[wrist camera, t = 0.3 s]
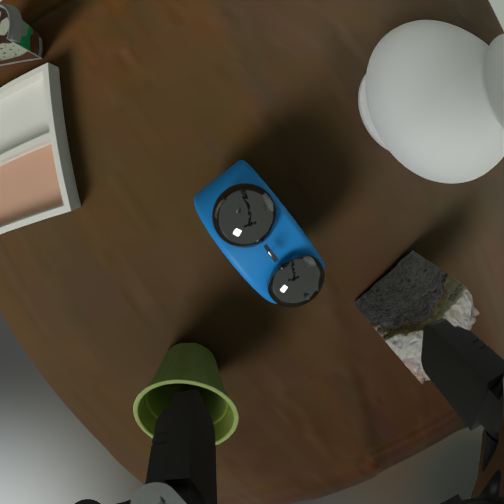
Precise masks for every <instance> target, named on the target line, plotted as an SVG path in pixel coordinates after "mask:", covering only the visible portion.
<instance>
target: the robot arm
mask: <svg viewBox="0 0 504 504" xmlns="http://www.w3.org/2000/svg"><path fill="white" fill-rule="evenodd" d="M421 363H422V367H423V370H424V372H425V373H426V375H427V376H428V377H429V378H430V380H431V381H432V382H433V383H434V385H435V386H436V387H437V388H438V389H439V391H440V392H441V393H442V394H443V396H444V397H445V398H446V399H447V401H448V402H449V403H450V404H451V406H452V407H453V408H454V410H455V411H456V412H457V413H458V415H459V416H460V417H461V419H462V420H463V421H464V422H465V424H466V425H467V426H468V428H469V429H470V430H473V429H475V428H477V427H478V426H480V425H482V426H483V427H484V428H485V429H484V431H483V435H482V446H481V455H480V463H479V470H478V476H477V480H476V483H475V486H474V488H473V491H472V494H471V497H470V499H466V500H461V499H460V497H459V495H458V494H457V495H456V496H454V497H452V498H450V499H449V500H447V501H445V502H443V503H441V504H504V360H503V359H502V358H501V357H500V356H498V355H497V354H496V353H495V352H494V351H493V350H492V349H491V348H489V347H488V346H486V344H485V343H484V342H483V341H481V340H479V338H478V337H477V336H476V335H474V334H473V333H472V332H471V331H469V330H467V329H464V328H462V327H459V326H457V327H454V326H453V325H452V324H451V323H450V322H449V321H448V320H446V319H445V318H441V319H439V320H437V321H434V322H432V323H429V324H427V325H425V326H424V329H423V341H422V353H421ZM152 444H153V446H152V447H151V453H150V459H149V465H148V472H147V478H146V483H145V485H144V486H142V487H140V488H139V489H138V490H137V491H136V492H135V493H134V494H133V496H132V498H131V500H129V501H126V502H122V503H118V504H217V486H216V446H215V429H214V424H213V421H212V418H211V416H210V414H209V412H208V410H207V408H206V406H205V404H204V401H203V399H202V397H201V395H200V393H199V391H198V390H190V391H184V392H178V393H175V395H174V399H173V406H172V408H171V409H164V410H163V411H162V413H161V414H160V416H159V417H158V419H157V420H156V424H155V429H154V436H153V441H152ZM75 504H100V503H99V502H97V501H95V500H91V499H85V500H81V501H79V502H77V503H75Z"/></svg>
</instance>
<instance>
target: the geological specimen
mask: <svg viewBox="0 0 504 504" xmlns="http://www.w3.org/2000/svg"><path fill="white" fill-rule="evenodd" d="M354 305H355V306H356V307H357V308H358V309H359V311H360V312H361V313H362V314H363V315H364V316H365V318H366V319H367V320H368V321H369V322H370V323H371V325H372V326H373V327H374V328H375V329H376V331H377V332H378V333H379V334H380V335H381V337H382V338H383V339H384V340H385V342H386V343H387V344H388V345H389V346H390V348H391V349H392V350H393V351H394V352H395V353H396V354H397V356H398V357H399V358H400V359H401V360H402V361H403V363H404V364H405V365H406V366H407V367H408V368H409V370H410V371H411V372H412V373H413V374H414V375H415V376H416V378H417V379H418V380H419V381H420V382H421V383H422V384H423V382H424V381H427V380H430V378H429V377H428V376H427V375H426V373H425V372H424V370H423V367H422V363H421V353H422V341H423V329H424V326H425V325H427V324H429V323H432V322H434V321H437V320H439V319H441V318H445V319H446V320H448V321H449V322H450V323H451V324H452V325H453V326H454V327H457V326H459V327H462V328H464V329H467V330H469V331H470V330H471V327H472V325H473V324H474V323H475V321H476V316H478V315H479V312H478V310H477V309H476V308H475V307H474V306H473V300H472V295H471V293H470V292H469V290H468V289H467V288H466V287H465V286H464V285H463V284H461V283H460V282H458V281H457V280H456V279H454V278H453V277H451V276H450V275H449V274H447V273H446V272H444V271H442V270H441V269H440V268H438V267H437V266H435V265H434V264H432V263H431V262H429V261H428V260H426V259H425V258H423V257H422V256H420V255H419V254H417V253H416V252H414V251H413V250H412V251H411V252H410V253H409V254H408V255H407V256H406V257H404V258H403V259H401V260H400V262H399V263H398V264H397V266H396V267H395V268H393V269H392V270H391V271H390V272H389V273H388V274H387V275H385V276H384V277H383V278H382V279H381V280H379V281H378V282H377V283H375V284H374V285H373V287H372V288H371V289H370V290H369V291H367V292H366V293H365V294H363V295H362V296H361V297H360V298H359V299H358V300H357V301H355V302H354Z"/></svg>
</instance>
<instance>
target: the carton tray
mask: <svg viewBox="0 0 504 504" xmlns="http://www.w3.org/2000/svg"><path fill="white" fill-rule="evenodd" d="M79 207H81V203H80V199H79V194H78V190H77V186H76V181H75V176H74V171H73V166H72V161H71V156H70V151H69V145H68V139H67V133H66V126H65V120H64V112H63V104H62V96H61V86H60V75H59V67H57V66H55V65H52V64H50V63H46V64H44V65H41V66H39V67H37V68H35V69H33V70H31V71H29V72H28V73H26V74H24V75H22V76H20V77H18V78H16V79H14V80H13V81H11V82H9V83H7V84H6V85H4V86H2V87H0V234H2V233H5V232H8V231H10V230H13V229H16V228H19V227H22V226H25V225H28V224H31V223H34V222H37V221H40V220H43V219H46V218H50V217H53V216H56V215H59V214H62V213H66V212H69V211H72V210H74V209H77V208H79Z"/></svg>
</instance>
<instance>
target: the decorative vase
mask: <svg viewBox="0 0 504 504" xmlns="http://www.w3.org/2000/svg"><path fill="white" fill-rule="evenodd" d="M358 106H359V112H360V115H361V118H362V121H363V123H364V125H365V127H366V129H367V131H368V132H369V134H370V135H371V136H372V138H373V139H374V140H375V141H376V142H377V143H378V144H379V145H381V146H382V147H383V148H385V149H387V150H389V151H390V152H391V153H392V155H393V156H394V157H395V158H396V159H397V160H398V161H399V162H400V163H401V164H403V165H404V166H405V167H406V168H408V169H409V170H411V171H412V172H414V173H415V174H417V175H419V176H421V177H423V178H426V179H429V180H432V181H436V182H441V183H463V182H467V181H471V180H474V179H476V178H478V177H480V176H482V175H484V174H485V173H487V172H488V171H490V170H491V169H492V168H493V167H494V166H495V165H496V164H497V163H498V162H499V161H500V160H501V159H502V158H503V157H504V34H501V35H499V36H497V37H496V38H495V39H494V40H493V41H492V42H491V43H490V45H487V44H486V43H485V42H484V41H482V40H481V39H479V38H478V37H476V36H475V35H473V34H472V33H470V32H468V31H466V30H464V29H462V28H460V27H457V26H455V25H452V24H449V23H446V22H441V21H436V20H417V21H412V22H408V23H405V24H403V25H400V26H398V27H396V28H394V29H393V30H391V31H390V32H389V33H387V34H386V35H385V36H384V37H383V38H382V39H381V40H380V41H379V43H378V44H377V45H376V47H375V49H374V51H373V53H372V55H371V57H370V60H369V63H368V67H367V72H366V74H365V76H364V77H363V79H362V81H361V84H360V87H359V92H358Z"/></svg>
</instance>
